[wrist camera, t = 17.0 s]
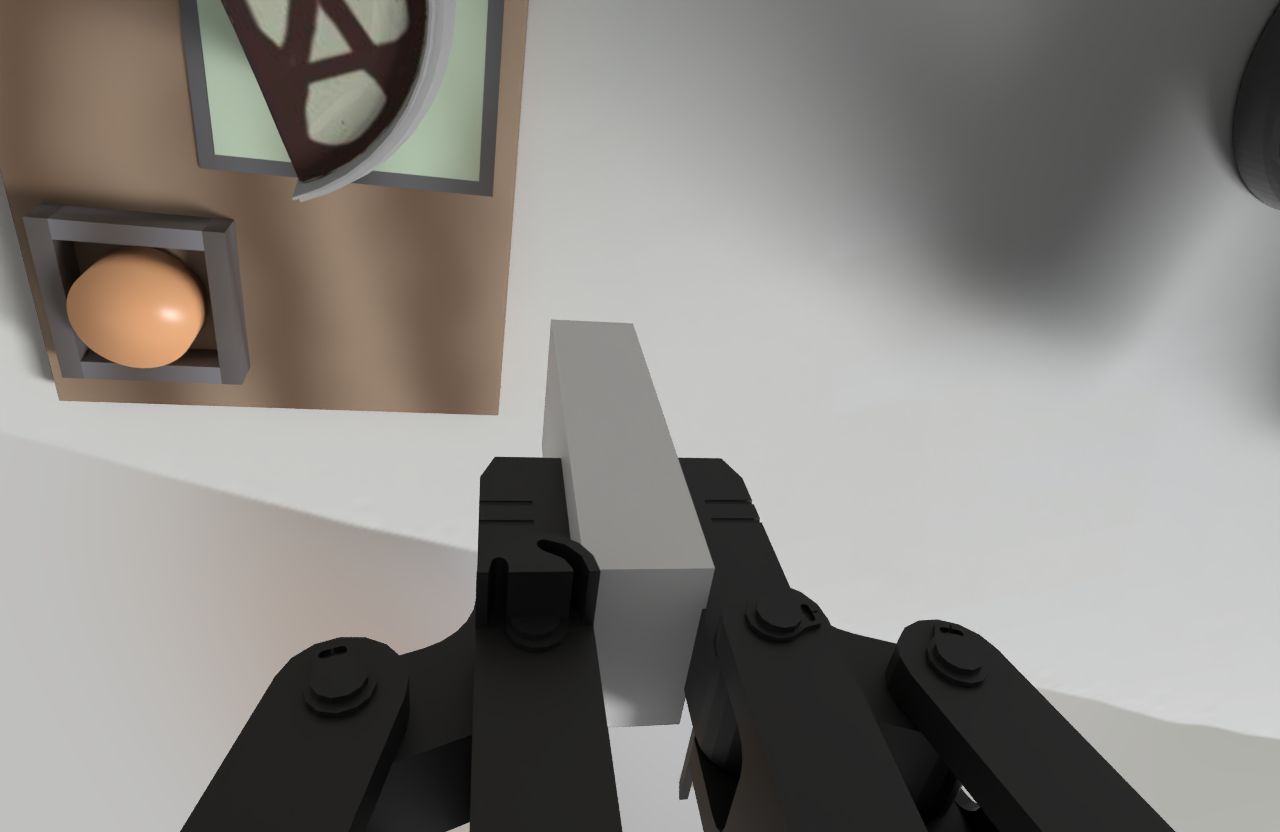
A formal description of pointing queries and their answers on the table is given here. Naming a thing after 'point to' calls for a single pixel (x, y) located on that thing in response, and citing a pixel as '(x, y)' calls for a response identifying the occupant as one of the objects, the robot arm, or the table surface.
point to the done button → (138, 307)
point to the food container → (344, 78)
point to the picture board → (262, 211)
